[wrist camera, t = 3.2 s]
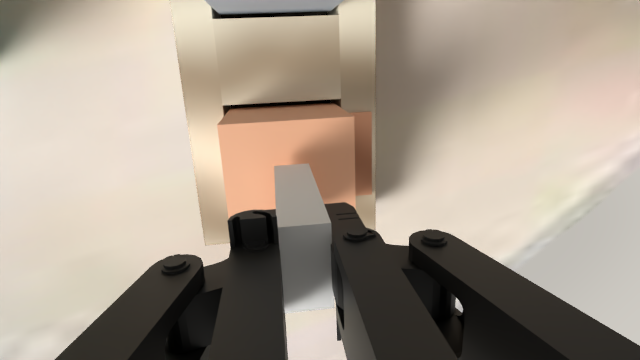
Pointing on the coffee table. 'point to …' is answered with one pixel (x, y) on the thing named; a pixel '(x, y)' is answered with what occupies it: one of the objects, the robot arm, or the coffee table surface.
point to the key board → (274, 84)
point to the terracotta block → (286, 152)
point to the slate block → (271, 6)
